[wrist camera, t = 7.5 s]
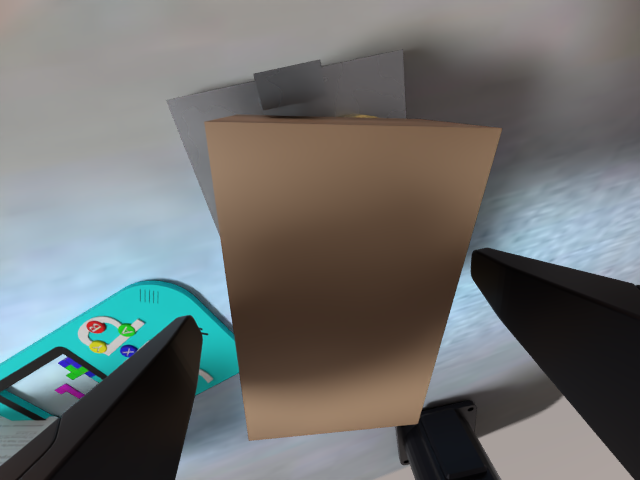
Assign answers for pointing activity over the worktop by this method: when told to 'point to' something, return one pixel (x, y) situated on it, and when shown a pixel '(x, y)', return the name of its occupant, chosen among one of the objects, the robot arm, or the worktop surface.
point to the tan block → (342, 260)
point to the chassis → (292, 101)
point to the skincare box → (19, 434)
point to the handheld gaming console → (119, 342)
